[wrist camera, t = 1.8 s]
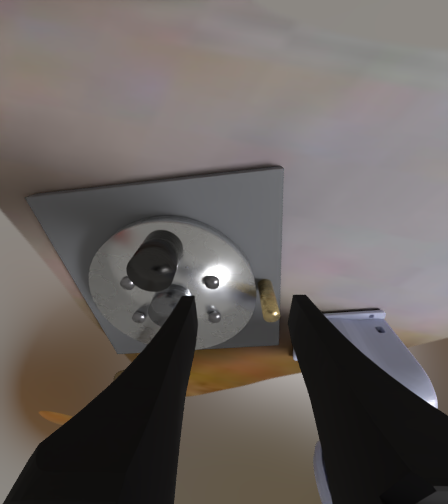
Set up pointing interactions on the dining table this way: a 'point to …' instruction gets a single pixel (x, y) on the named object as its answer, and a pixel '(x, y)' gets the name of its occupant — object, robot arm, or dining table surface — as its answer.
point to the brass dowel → (268, 301)
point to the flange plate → (187, 273)
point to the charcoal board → (180, 205)
